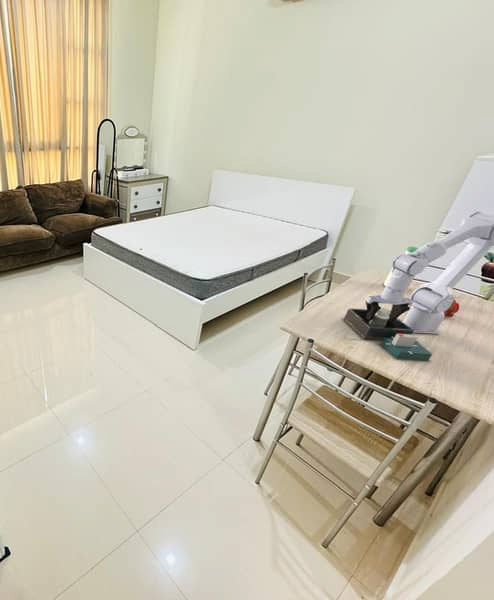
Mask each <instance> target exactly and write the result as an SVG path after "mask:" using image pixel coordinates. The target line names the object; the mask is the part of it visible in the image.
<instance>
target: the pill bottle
mask: <svg viewBox="0 0 494 600" xmlns="http://www.w3.org/2000/svg"><path fill="white" fill-rule="evenodd" d="M390 313H391V309H388V308H385V307H381V309H380V310H378V312H377V313H376V314H375V316H374V317H373V319H372V320H371V321H369V323H368V324H369V325H370V326H371V327H381V328H384V327H385V325H386V323H387V321H388V319H389V315H390Z"/></svg>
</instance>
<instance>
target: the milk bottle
mask: <svg viewBox="0 0 494 600" xmlns="http://www.w3.org/2000/svg"><path fill="white" fill-rule="evenodd" d="M419 248H420V247H417V246H416V247H415V246H407V248H406V250H405V253H404V254H403V255H405V254H410V253H412V252H414V251H415V250H417V249H419ZM392 269H393V267H392V268H391V270H390V271H389V274H388V275H387V278H386V279H385V281H384V283H383V285H384V287H386V285H387V283H388V281H389V279H390V277H391V275H392V272H391V271H392Z"/></svg>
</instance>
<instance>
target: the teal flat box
mask: <svg viewBox="0 0 494 600" xmlns="http://www.w3.org/2000/svg"><path fill="white" fill-rule="evenodd" d="M391 337H392V338H384V339H383V341H380V345H381V346H382V347H383V349H385V350H386V351H387V352H388V353H389V354H390V355H391V356H392V357H393V358H395V359H397V360H410V361H422V362H425V361H426V362H428V361H429V360H430V359H431V357H432V356H433V353H432V352H431V351H429V350H428V349H427V348H426V347H425V346H424V345H422V344H421V343H420V342H418V341H417V340H416V341H415V342H414V344H413V346H412V347H406V346H394V345H393V344H392V341H393V339H394V337H393V336H391Z"/></svg>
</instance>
